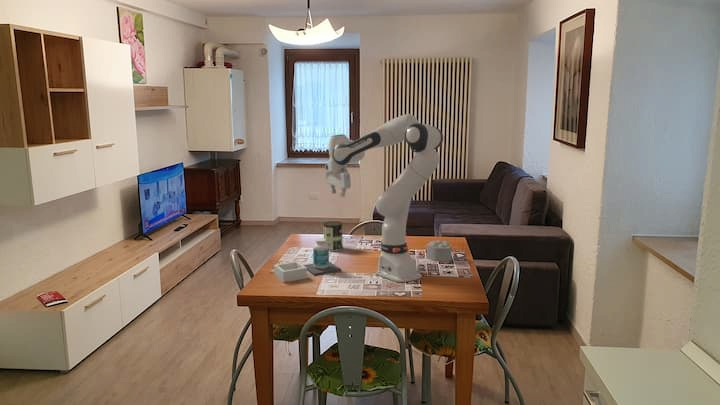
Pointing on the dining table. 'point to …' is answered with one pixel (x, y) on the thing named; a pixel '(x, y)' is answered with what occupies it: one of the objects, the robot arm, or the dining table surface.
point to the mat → (322, 271)
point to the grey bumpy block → (439, 251)
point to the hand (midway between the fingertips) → (338, 194)
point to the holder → (290, 271)
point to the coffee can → (333, 235)
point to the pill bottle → (321, 254)
